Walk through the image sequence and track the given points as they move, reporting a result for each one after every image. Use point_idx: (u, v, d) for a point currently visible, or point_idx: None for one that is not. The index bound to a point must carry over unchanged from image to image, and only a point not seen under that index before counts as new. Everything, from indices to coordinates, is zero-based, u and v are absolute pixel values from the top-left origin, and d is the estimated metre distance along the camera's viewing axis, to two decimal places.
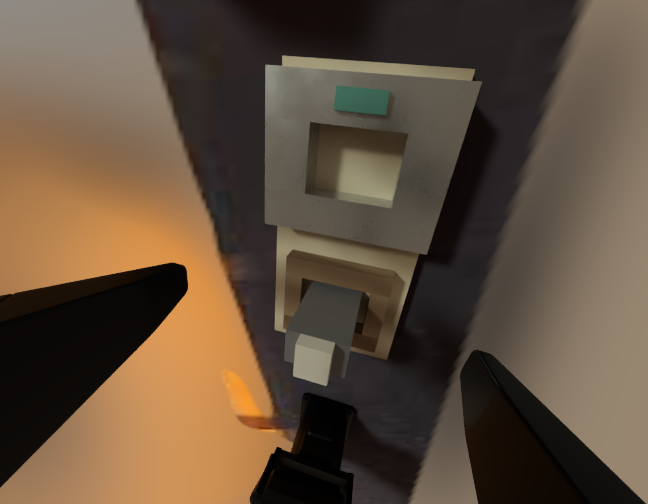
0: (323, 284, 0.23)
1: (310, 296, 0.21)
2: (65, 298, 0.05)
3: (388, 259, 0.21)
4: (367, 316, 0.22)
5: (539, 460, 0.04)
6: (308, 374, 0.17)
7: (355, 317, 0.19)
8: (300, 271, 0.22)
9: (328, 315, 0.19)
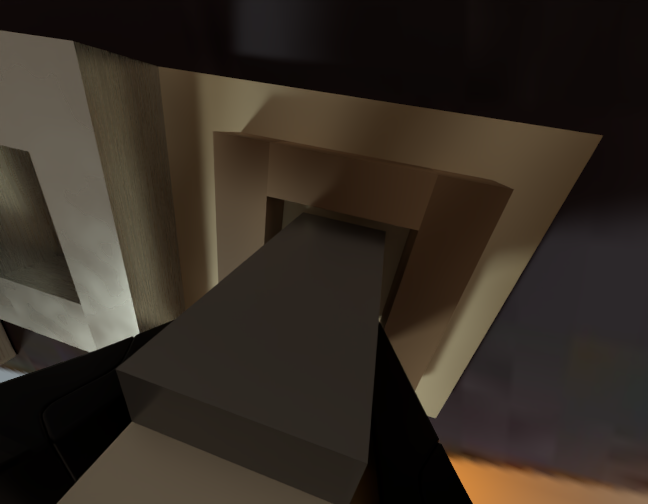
0: None
1: None
2: None
3: None
4: (343, 208, 0.07)
5: None
6: None
7: (245, 263, 0.06)
8: None
9: None
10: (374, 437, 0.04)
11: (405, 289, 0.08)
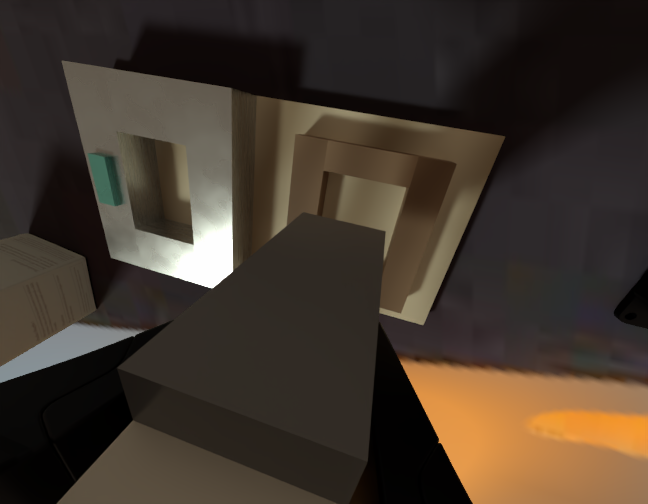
0: None
1: None
2: None
3: (287, 144, 0.15)
4: (367, 177, 0.13)
5: None
6: None
7: (246, 263, 0.06)
8: None
9: None
10: (374, 437, 0.04)
11: (402, 224, 0.14)
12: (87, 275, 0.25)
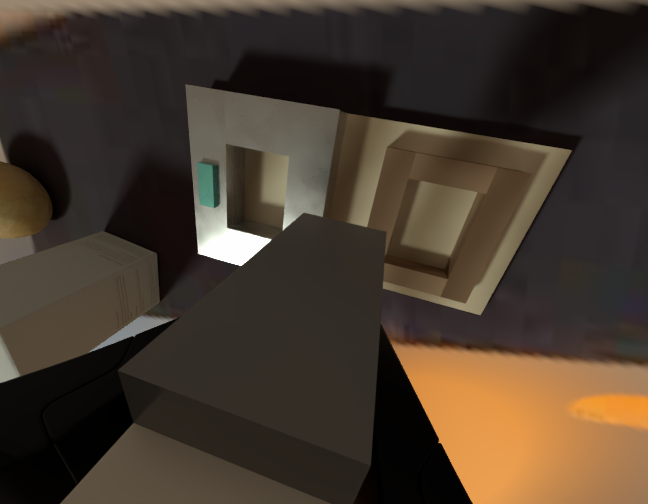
0: None
1: None
2: None
3: (371, 155, 0.17)
4: (449, 184, 0.15)
5: None
6: None
7: (246, 264, 0.06)
8: None
9: None
10: (374, 437, 0.04)
11: (476, 225, 0.16)
12: (157, 270, 0.28)
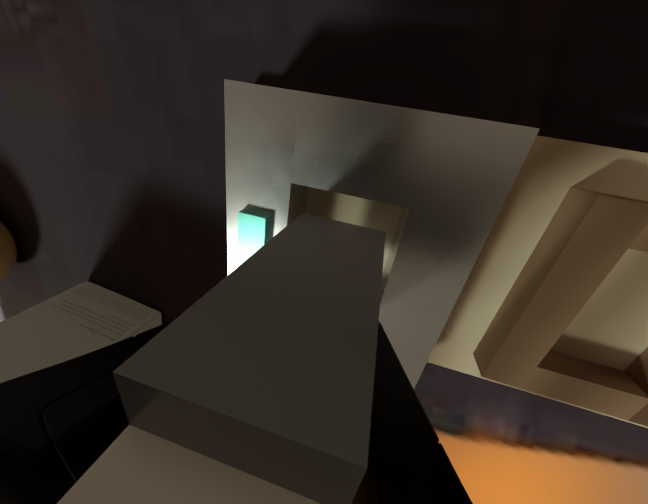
0: None
1: None
2: None
3: (534, 199, 0.10)
4: None
5: None
6: None
7: (244, 264, 0.06)
8: (520, 365, 0.12)
9: None
10: (374, 437, 0.04)
11: None
12: None
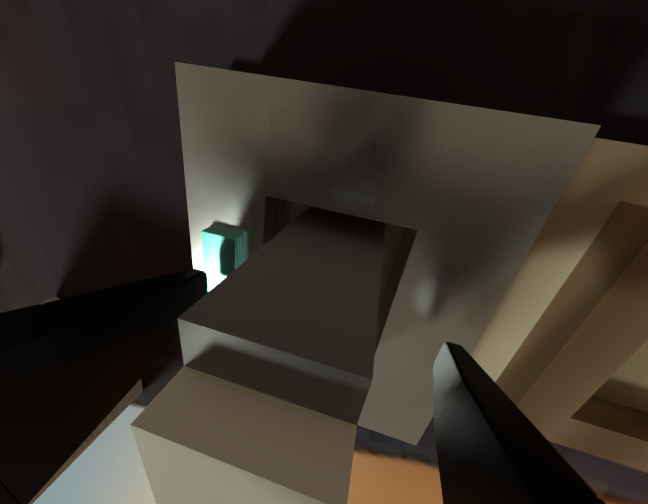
0: None
1: None
2: (94, 308, 0.05)
3: (572, 216, 0.08)
4: None
5: (491, 444, 0.04)
6: None
7: None
8: (549, 415, 0.09)
9: None
10: (533, 494, 0.03)
11: None
12: None
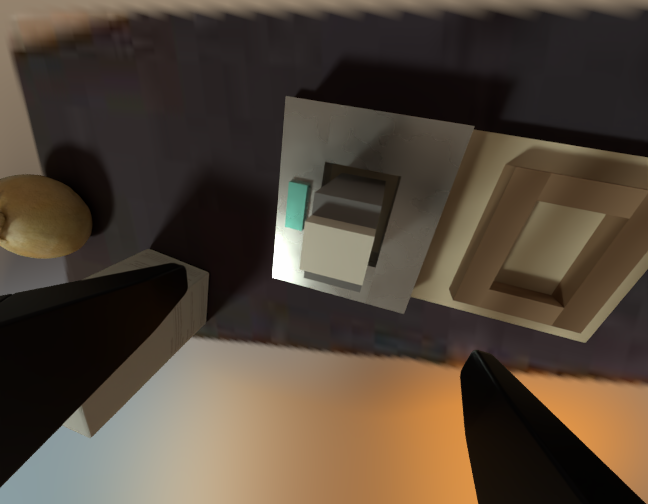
0: None
1: None
2: (65, 298, 0.05)
3: (483, 173, 0.15)
4: (585, 207, 0.14)
5: (539, 460, 0.04)
6: (354, 262, 0.11)
7: None
8: (478, 289, 0.17)
9: None
10: None
11: (610, 251, 0.14)
12: (207, 290, 0.26)
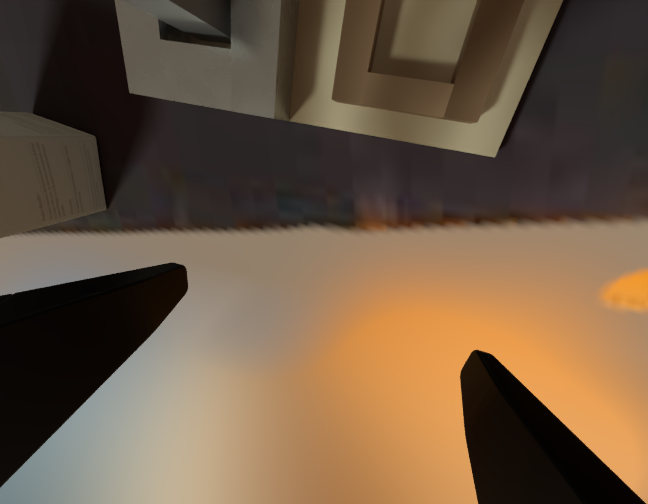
0: None
1: None
2: (65, 298, 0.05)
3: None
4: None
5: (539, 460, 0.04)
6: None
7: None
8: (356, 74, 0.14)
9: None
10: None
11: None
12: (97, 160, 0.23)
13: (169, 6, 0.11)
